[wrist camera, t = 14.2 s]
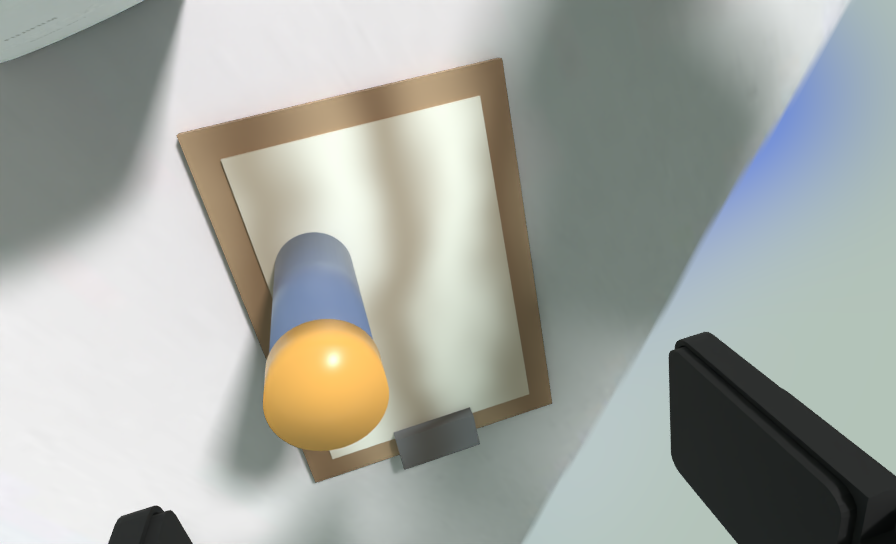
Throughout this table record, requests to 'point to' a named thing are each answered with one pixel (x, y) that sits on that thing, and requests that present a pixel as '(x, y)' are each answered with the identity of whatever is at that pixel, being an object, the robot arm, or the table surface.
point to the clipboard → (396, 245)
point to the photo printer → (49, 21)
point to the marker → (321, 350)
